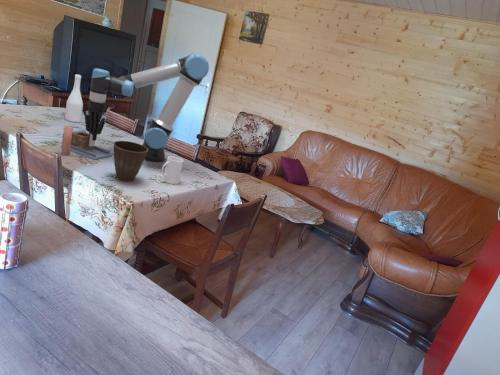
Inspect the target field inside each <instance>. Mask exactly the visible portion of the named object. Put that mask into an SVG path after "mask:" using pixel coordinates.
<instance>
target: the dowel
mask: <svg viewBox="0 0 500 375" xmlns="http://www.w3.org/2000/svg"><path fill="white" fill-rule="evenodd" d="M73 131H74V126H70V125H64V127H63V133H64V136H63V135H62V140H63V145H62V144H61V155H62V156H68V157H69V156H70V154H71V151H70V148H71V140H72V132H73Z"/></svg>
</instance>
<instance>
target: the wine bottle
mask: <svg viewBox="0 0 500 375" xmlns="http://www.w3.org/2000/svg"><path fill="white" fill-rule="evenodd" d="M81 79H82V75H81V74H75V75H74V84H73V89H72V90H71V92H70V94H69V95H68V98H67V100H66V104H65V105H66V106H65V114H64V119H65V121H68V122H71V123H81V121H82V115H83V108H84V107H83V106H84V103H83V99H82V98H83V97H82V93H81Z"/></svg>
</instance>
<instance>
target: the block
mask: <svg viewBox="0 0 500 375" xmlns="http://www.w3.org/2000/svg"><path fill="white" fill-rule="evenodd" d="M89 141H90V139H89V132H88V133H87V132H86V133H85V132H73V133H72V140H71V145H73V146H76V147H78V148H81V149H84V150H89V149H93V147H94V146H91V147H90V146H89Z"/></svg>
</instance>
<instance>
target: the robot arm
mask: <svg viewBox="0 0 500 375" xmlns="http://www.w3.org/2000/svg"><path fill="white" fill-rule="evenodd" d="M209 69H210V65H209V61H208V60H207V58H206V57H205V56H204V55H202V54H201V53H191V54H188V55H187V56H184V57H182V58H179V59H177V60H176V61H175V62H172V63H168V64H164V65H160V66H156V67H152V68H150V69H145V70H142V71H139V72H134V73H131V74H127V75H121V76H119V77H115V76H111V75H110V72H109V71H108V70H105V69H102V68H98V67H97V68H96V67H95V68H94V69H93V70H92V75H91V81H90V82H91V83H90V90H89V100H88V106H87V107H88V109H87V110H86V111H82V114H83V115H84V123H85V131H86V132H88V134H89V139H90V141H89V146H90V147H91V146H94V145H95V144H96V141H97V138H98V137H97V136H98V135H101V134H102V131H103V129H104V127H105V125H106V122H108V117H106V116H105V113H104V111H105V109H106V103H105V102H106V100H107V95H108V94H107V92H110V93H113V94H117V95H122V96H125V97H132V96H133V92H134V90H136V89H139V88H143V87H147V86H150V85H154V84H158V83H160V82H164V81H168V80H171V79H175V78H178V81H177V82H176V83H175V86H174V88H173V90H171V93H170V95H169V96H168V99H167V100H166V101H165V103H164V105H163V107H162V109H161V111H160V112H159V114H158V116H157V117H149V118H148V120H147V123H146V124H147V125H146V129H145V133H144V137H143V138H144V139H143V143H142V145H143V146H145V147H146V148H147V149H148V151H147V154H146V157H145V159H144V161H145V160H146V161H149V162H155V163H163V162H164V161H165V160H166V152H165V146H166V145H167V143H168V140H169V138H170V136H171V135H172V133H173V131H174V127H173V125H174V124H175V122H176V120H177V118H178V117H179V115H180V113H181V111H182V109H183V107H184V106H185V105H186V103H187V101H188V99H189V98H190V96H191V94H192V92H193V90H194V89H195V88H196V87H198V86H200V84H201V83H202V81H203V79H204V78H205V77H206V76H207V75H208V73H209V71H210V70H209Z"/></svg>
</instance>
